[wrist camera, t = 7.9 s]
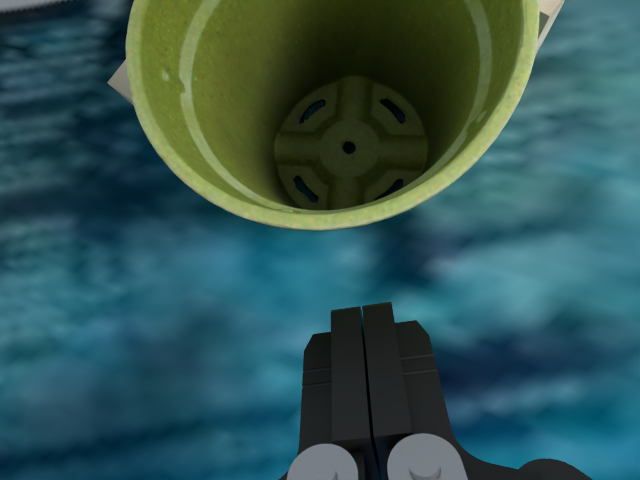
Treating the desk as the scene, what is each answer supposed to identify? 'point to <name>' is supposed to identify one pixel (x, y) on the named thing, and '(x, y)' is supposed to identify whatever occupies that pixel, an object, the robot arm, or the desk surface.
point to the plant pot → (326, 98)
